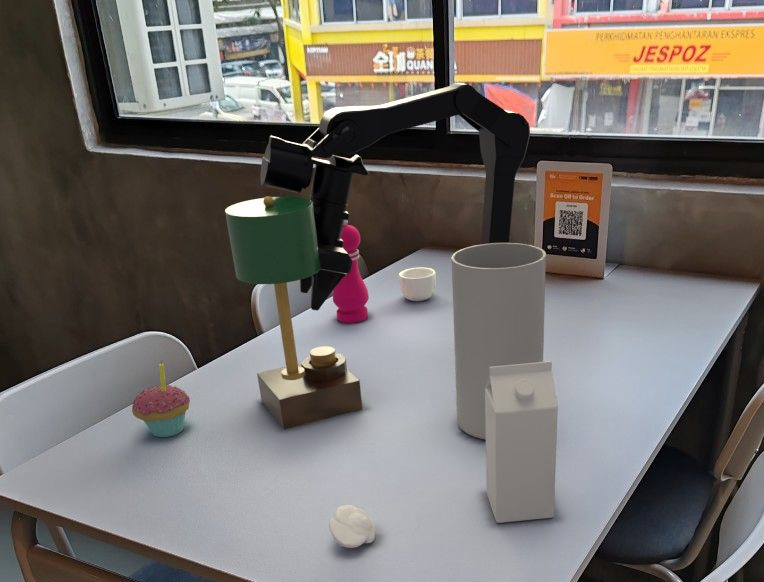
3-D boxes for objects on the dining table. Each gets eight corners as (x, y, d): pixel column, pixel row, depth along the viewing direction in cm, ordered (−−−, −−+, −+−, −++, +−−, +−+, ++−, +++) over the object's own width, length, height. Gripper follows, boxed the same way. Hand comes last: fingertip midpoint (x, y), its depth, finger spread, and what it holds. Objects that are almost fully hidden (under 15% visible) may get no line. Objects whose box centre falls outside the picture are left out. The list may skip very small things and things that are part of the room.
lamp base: (335, 383, 139) (330, 344, 136) (362, 409, 130) (358, 368, 126) (261, 401, 135) (254, 361, 131) (284, 429, 126) (277, 387, 122)
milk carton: (486, 494, 106) (484, 355, 96) (540, 488, 106) (544, 350, 96) (496, 524, 100) (495, 379, 90) (554, 518, 100) (559, 373, 90)
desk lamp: (317, 354, 132) (295, 183, 119) (344, 380, 123) (324, 196, 109) (244, 371, 128) (213, 195, 115) (267, 398, 119) (236, 210, 105)
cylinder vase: (531, 447, 116) (534, 270, 103) (446, 437, 120) (439, 267, 107) (549, 409, 126) (554, 244, 113) (470, 401, 130) (466, 241, 117)
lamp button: (331, 356, 132) (329, 344, 131) (340, 364, 129) (338, 352, 128) (307, 361, 131) (306, 349, 130) (316, 370, 128) (314, 357, 127)
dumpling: (342, 526, 102) (347, 497, 101) (380, 539, 101) (386, 511, 99) (317, 548, 96) (321, 518, 94) (357, 563, 95) (362, 533, 93)
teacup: (427, 305, 171) (426, 279, 168) (394, 302, 174) (392, 277, 171) (445, 290, 179) (444, 265, 176) (413, 288, 182) (412, 263, 179)
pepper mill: (365, 324, 164) (356, 221, 153) (330, 323, 165) (319, 221, 155) (374, 312, 170) (365, 212, 159) (340, 311, 171) (329, 212, 161)
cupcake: (205, 421, 130) (190, 349, 124) (175, 446, 123) (158, 371, 117) (159, 416, 133) (141, 346, 126) (127, 440, 126) (108, 367, 120)
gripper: (266, 177, 128) (250, 276, 134) (285, 200, 112) (266, 311, 119) (335, 192, 132) (316, 287, 138) (363, 216, 116) (340, 322, 123)
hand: (308, 301), depth 130 cm, fingers open, 9 cm apart
